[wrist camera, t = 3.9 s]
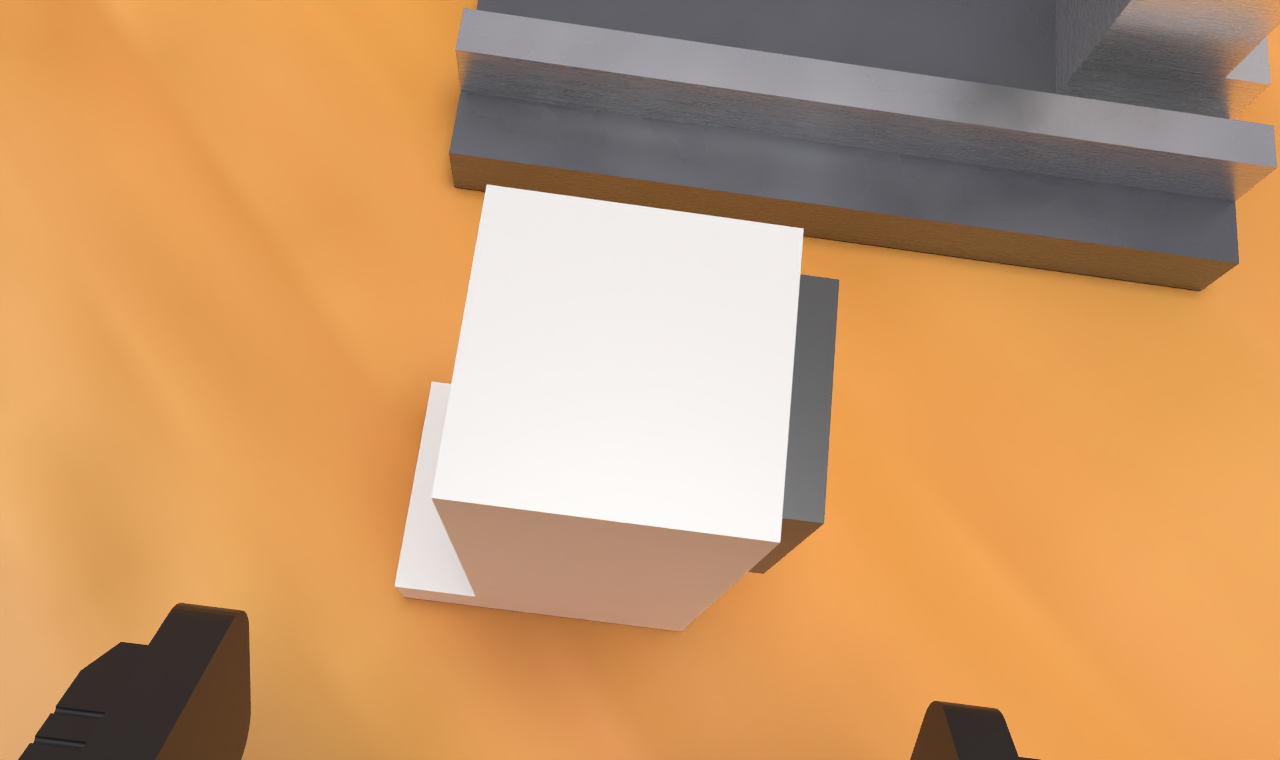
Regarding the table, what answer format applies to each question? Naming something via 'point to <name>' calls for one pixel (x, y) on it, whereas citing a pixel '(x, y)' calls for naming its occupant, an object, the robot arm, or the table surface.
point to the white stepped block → (622, 414)
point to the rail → (889, 120)
